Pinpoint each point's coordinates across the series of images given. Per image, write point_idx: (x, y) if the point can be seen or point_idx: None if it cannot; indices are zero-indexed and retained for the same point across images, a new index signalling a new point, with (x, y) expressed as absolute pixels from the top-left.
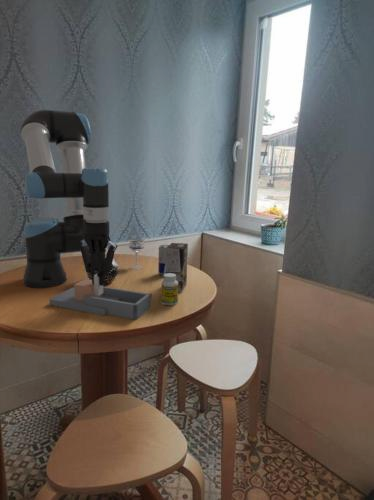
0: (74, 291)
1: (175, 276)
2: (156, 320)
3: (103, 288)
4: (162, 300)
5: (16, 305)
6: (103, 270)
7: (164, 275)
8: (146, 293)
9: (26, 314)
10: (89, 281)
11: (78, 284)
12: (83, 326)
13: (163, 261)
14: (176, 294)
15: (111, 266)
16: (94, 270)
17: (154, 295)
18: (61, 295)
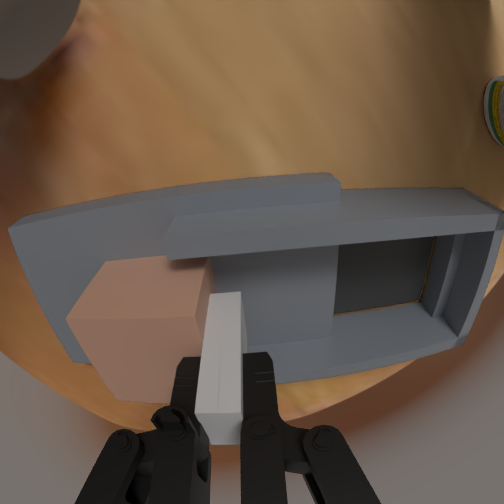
0: (51, 268)
1: None
2: None
3: (200, 253)
4: (500, 138)
5: (36, 365)
6: (306, 483)
7: None
8: (493, 218)
9: (104, 397)
10: (128, 347)
11: (130, 395)
12: (298, 399)
13: None
14: None
15: (366, 478)
16: (208, 474)
17: (426, 34)
18: (62, 325)
